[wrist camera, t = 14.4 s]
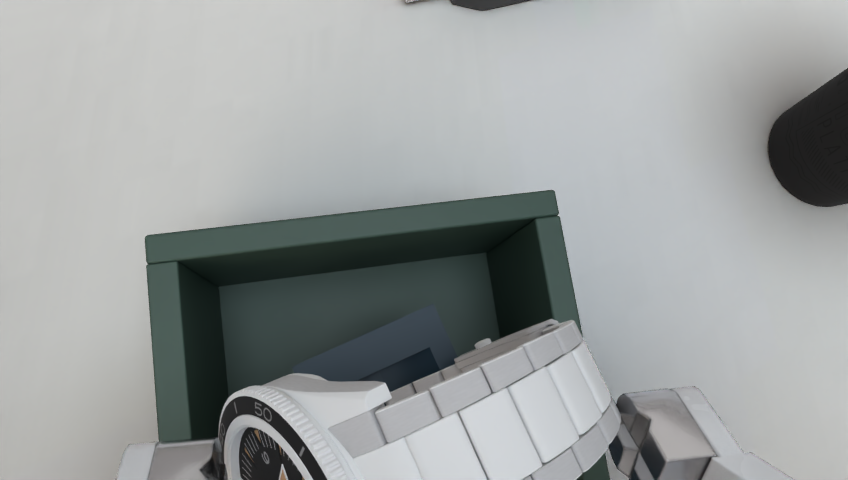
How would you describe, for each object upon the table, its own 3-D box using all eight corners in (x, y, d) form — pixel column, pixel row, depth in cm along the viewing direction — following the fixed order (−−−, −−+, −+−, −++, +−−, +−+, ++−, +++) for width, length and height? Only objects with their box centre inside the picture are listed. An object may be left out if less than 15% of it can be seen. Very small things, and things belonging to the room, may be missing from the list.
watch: (241, 395, 19) (115, 412, 9) (466, 294, 21) (591, 204, 10) (309, 568, 19) (261, 821, 8) (539, 449, 20) (755, 523, 10)
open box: (553, 565, 23) (643, 650, 16) (230, 636, 21) (181, 766, 14) (496, 234, 25) (555, 188, 18) (198, 271, 23) (143, 235, 16)
